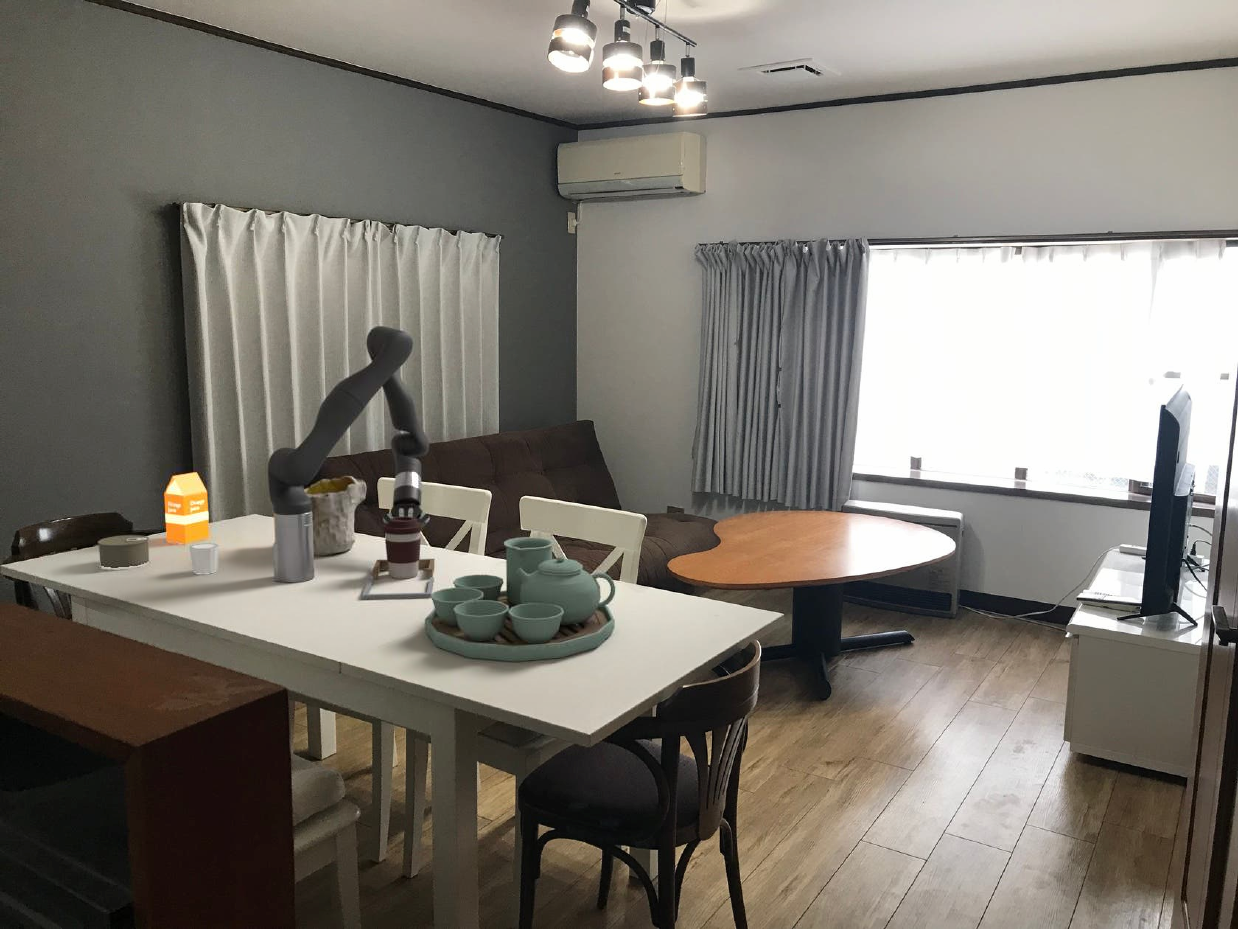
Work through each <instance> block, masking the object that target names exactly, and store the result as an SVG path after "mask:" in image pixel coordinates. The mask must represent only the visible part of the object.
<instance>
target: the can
mask: <svg viewBox="0 0 1238 929" xmlns="http://www.w3.org/2000/svg"><path fill="white" fill-rule="evenodd" d="M149 540H150V538H149V536H146V535H140V534H126V535H124V534H123V535H115V536H111V537H110V536H108V537H105V538H102V539H99V540H98V541H97V545H98V552H99V563H100V565H101V566H104V567H111V568H118V567H129V566H138V565H141V564H144V563H147V562H148V561H149V562H150V551H149V548H150V547H149Z"/></svg>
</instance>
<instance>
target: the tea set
mask: <svg viewBox="0 0 1238 929" xmlns="http://www.w3.org/2000/svg"><path fill="white" fill-rule="evenodd" d="M554 545H555V541H554V540H552V539H549V538H544V537H532V536H528V537H527V536H526V537H525V536H523V537H522V536H521V537H515V538H509V539H507V540H505V541H503V546H504V547H505V548H506V550H505V551H506V554H505V556H506V557H505V558H506V560H505V561H506V562H505V563H506V567H505V568H506V578H505V579H506V583H505V584H506V586H505V587H506V589H504V590H501V589H502V586H503V585H504V582H505V581H504V579H503V577H501V576H500V577H499V576H497V575H492V574H491V575H490V574H469V575H463V576H460V577H457V578H456V579H454V580H453V582H452V584H453V585H454V587H449V588H443V589H439V590H435V591H433V592H432V595H431V596H430V597H431V598H430V600H432V603H433V608H434V609H433V610H432V611H431V612H430V613H429V614H428V615H427V616H426V618H425V619H424V628H425V630H426V633H427V634H428V635H429V637H430V639H431V640H432V641H433V643H434V644H435V646H436V648H440V649H442V650H446V651H449V652H452V653H454V654H458V655H461V656H464V657H466V658H470V659H480V660H481V659H484V660H494V661H504V662H513V663H515V662H524V661H525V662H527V661H537V660H538V661H539V660H550V659H551V660H552V659H561V658H562V659H563V658H565V657H568V656H572V655H575V654H578V653H582V652H584V651H589V650H591V649H595V648H598V647H599V646H600V645H601V644H602V643H604V642H605V641H606V639H607V638H608V637H610V636H611V635H613V632H614V630H615V627H616V626H615V623H616V622H615V618H614V616H613V614H612V612H611V610H610V608H609V606H608V605H609V604H610V603H611V602H612V601H613V600H614V597H615V595H616V585H615V582H614V579H612V577H611V576H610V575H608V574H607V573H605V572H597V573H594V574H590V573H589V572H587V570H584V568H583V567H584V566H583V564H581V563H580V562H578V561H577V560H575V559H574V560H573V559H569V558H564V556H558V557H556V558H553V546H554ZM599 578H601V579H604V580H606V581H607V582H608V583H609V586H610V592H609V595H608V597H606V599H604V600H603V601H601V598H602V597H601V586H600V584H599V582H598V580H597V579H599ZM600 601H601V602H600Z"/></svg>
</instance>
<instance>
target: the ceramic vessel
mask: <svg viewBox="0 0 1238 929" xmlns="http://www.w3.org/2000/svg"><path fill="white" fill-rule="evenodd" d="M304 491H305V493H306V495H307V496H308V497H309V498H310V500H311V501H312V520H313V549H314V557H319V556H321V557H322V556H327V555H333V554H337V553H342V552H346V551H348V550H350V549H352V548H353V546H354V543H355V542H356V535H355V511H356V508H357V507H358V506H359V505H360V504H361V503H362V502H363V501H364V500H366V495H367V484H366V482H365V480H363V479H362V478H361V479H360V478H354V476H351V475H344V476H342V477H340V478H332V479H329V478H328V479H327V478H324V479H321V480H319V481H317V482H316V483H313V484H311V485H310V486H309V487H306V488H304Z"/></svg>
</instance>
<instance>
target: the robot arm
mask: <svg viewBox="0 0 1238 929" xmlns="http://www.w3.org/2000/svg"><path fill="white" fill-rule="evenodd" d="M365 342H366V349H367V352H368V355H369V357H370V361H371V362H370V363H369V364H368V365H366V366H365V367H364V368H362V369H360V370H358V371H356V372H355V373H353V374H351V375H349V376H347V377H345V378H344V379H342V380H340V381H339V382H338V383H337V384H336V385H335V386H334V387H333V388H332V389H331V391H330V392H329V393H328V394H327V395H326V397H325V398H324V400H323V401H322V403H321V405H320V406H319V409H318V413H317V415H316V420H315V422H314V425H313V428H312V430H311V432H309V434H308V435H307V437H306V438H305V439H304V440H303V441H302V442H301V444H299V445H298V447H296V448H293V447H281V448H278V449H276V450H275V451H273V453H272V454H271V456H270V457H269V460H268V462H267V482H268V490H269V491H268V493H269V499H270V503H272V508H273V524H274V525H273V526H274V542H273V543H272V554H273V577H274V578H273V581H274V582H283V583H299V582H306V581H309V580H312V579H314V578H315V562H314V561H315V558H314V557H315V556H314V549H313V520H312V501H311V500H310V498H309V497H308V496H307V495H306V493H305V491H304V489H305V487H304V486H306V485H308V484H309V483H310V482H312V481H313V479H314V478H315V477H316V476H317V474H318V472H319V471H320V469H321V468H322V466H323V464H324V463H325V462H326V460H327V458H328V456H329V454H330V453H331V451H332V450H333V449H334V447H335V446H336V445H337V443H338V442H339V441H340V440H341V439H342V437H343V436H344V434H345V433H346V432H347V430H349V428H350V427H351V425H353V424H354V422H356V420H357V419H358V417H359V416H360V415H361V414H362V412H363V411H364V410H365V408H366V406H367V405H368V404H369V403H370V401H371V400H372V399H373V398H374V396H376V394H377V393H378V392H379V391H380V389H381V388H382V390H383V392H384V396H385V399H386V402H387V406H388V410H389V415H390V420H391V424H392V427H393V428H394V430H395V429H396V430H397V431H402V432H405V433H397V434H395V435H394V436H393V437H392V439H391V442H390V448H391V451H392V454H393V458H394V461H395V478H394V479H395V480H394V484H393V496H392V498H393V499H392V506H391V507H392V508H391V509H390V512H388V513H387V514H386V513H383V514H382V520H383V523H384V524H387V523H388V521H389V519H391V518H394V517H414V518H416V520H417V522H419V523H421V524H422V529H423V528H424V527H426V525H428V523H429V522H430V521H431V520H430V514H429V513H425V512H423V508H422V492H423V490H422V489H423V487H422V483H423V482H422V464H421V461H420V460H419V459H417V458H418V457H423V456H426V455H427V453H428V452H429V450H430V442H429V438H428V436H427V434H426V433H425V431H424V429H423V428H422V426H421V424H420V422H419V419H418V416H417V412H416V407H415V403H414V399H413V396H412V394H411V393H410V390H409V388H408V387H407V385H406V384H405V382H404V380H403V379H402V377H401V376H400V374H399V372H398V370H399V369H400V368H401V367H402V366H403V365H404V364H405V362H406V361H407V360H408V359H409V357H410V356H411V353H412V351H413V347H414V340H413V337H412V336H411V335H410V334H409V333H408V332H406V331H404V330H401V329H396V328H393V327H388V326H383V325H377V326H374V327H373V328H372V329H370V331H369V332H368V334H367V337H366V341H365ZM415 457H417V458H415Z"/></svg>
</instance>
